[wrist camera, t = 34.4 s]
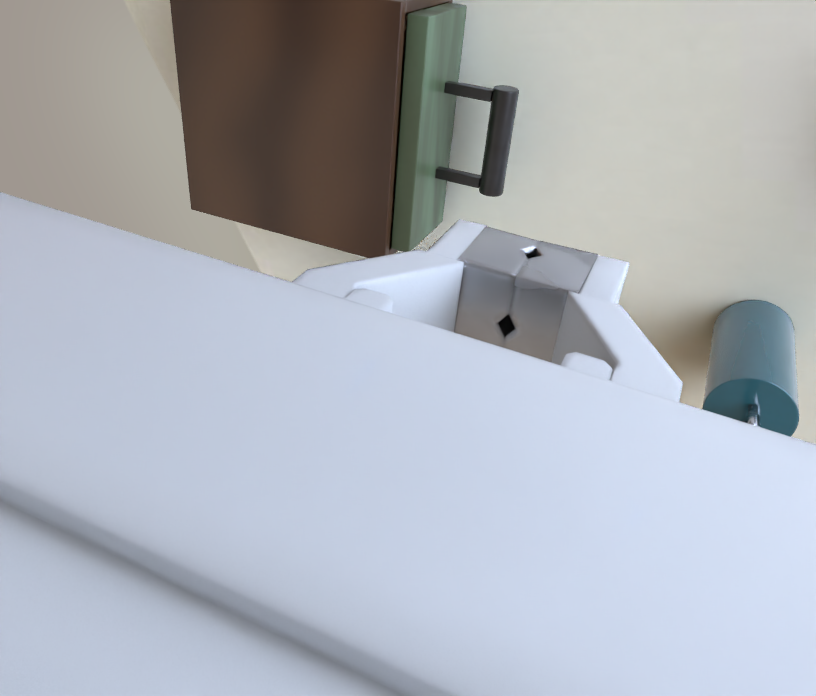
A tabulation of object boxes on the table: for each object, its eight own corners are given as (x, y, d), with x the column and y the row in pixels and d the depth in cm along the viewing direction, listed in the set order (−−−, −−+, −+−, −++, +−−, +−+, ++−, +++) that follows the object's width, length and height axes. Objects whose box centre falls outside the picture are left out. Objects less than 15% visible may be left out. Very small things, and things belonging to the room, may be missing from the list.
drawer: (540, 16, 38) (510, 29, 33) (503, 236, 45) (474, 271, 41) (264, -25, 43) (207, -18, 39) (271, 178, 50) (223, 204, 46)
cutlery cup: (726, 291, 42) (712, 417, 31) (806, 311, 40) (818, 449, 30) (703, 352, 44) (683, 487, 34) (778, 372, 43) (780, 520, 32)
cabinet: (453, -11, 40) (401, 1, 34) (430, 221, 47) (384, 262, 42) (243, -41, 44) (166, -34, 38) (253, 177, 52) (190, 209, 46)
